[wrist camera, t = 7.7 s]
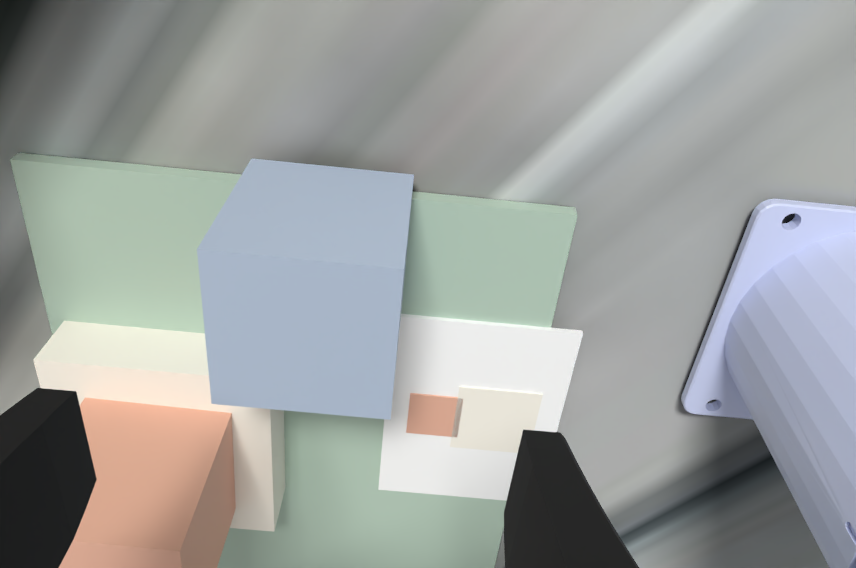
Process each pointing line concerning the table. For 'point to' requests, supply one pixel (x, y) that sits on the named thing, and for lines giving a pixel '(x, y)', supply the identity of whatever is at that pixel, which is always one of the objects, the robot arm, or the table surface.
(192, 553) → the terracotta brick
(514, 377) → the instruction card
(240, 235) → the slate-blue brick
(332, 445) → the build plate
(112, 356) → the cream base brick
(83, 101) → the table surface
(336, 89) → the table surface
